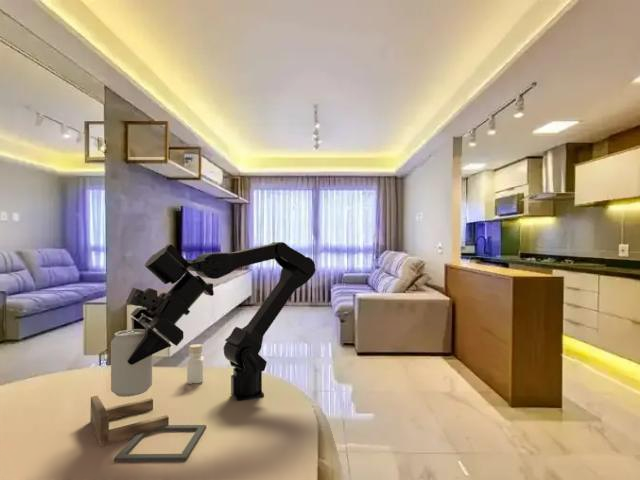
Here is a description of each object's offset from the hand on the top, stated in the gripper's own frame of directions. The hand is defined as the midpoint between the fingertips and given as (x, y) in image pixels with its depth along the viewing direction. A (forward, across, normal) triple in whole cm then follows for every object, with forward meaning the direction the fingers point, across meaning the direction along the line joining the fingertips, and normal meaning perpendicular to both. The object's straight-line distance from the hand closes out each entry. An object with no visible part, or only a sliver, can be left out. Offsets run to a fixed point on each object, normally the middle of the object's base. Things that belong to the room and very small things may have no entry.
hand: (124, 358), depth 77 cm
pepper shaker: (-5, -17, +24) cm, 30 cm away
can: (+4, 0, +6) cm, 7 cm away
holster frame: (+7, +12, +12) cm, 18 cm away
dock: (+9, 0, +10) cm, 13 cm away
